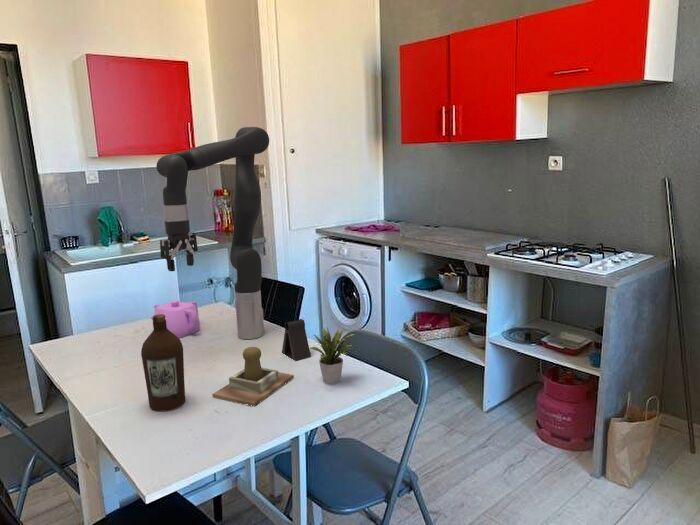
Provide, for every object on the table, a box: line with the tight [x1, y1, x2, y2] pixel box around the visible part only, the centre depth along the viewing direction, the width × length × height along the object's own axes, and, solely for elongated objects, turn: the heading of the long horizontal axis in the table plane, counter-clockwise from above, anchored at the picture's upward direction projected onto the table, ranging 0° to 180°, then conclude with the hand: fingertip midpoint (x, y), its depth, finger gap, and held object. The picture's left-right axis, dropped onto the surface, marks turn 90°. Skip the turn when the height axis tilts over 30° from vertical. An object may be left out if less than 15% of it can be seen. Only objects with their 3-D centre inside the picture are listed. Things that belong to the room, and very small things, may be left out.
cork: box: [242, 346, 263, 382], centre depth 154 cm, size 6×6×11 cm
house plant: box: [309, 326, 356, 385], centre depth 156 cm, size 14×14×16 cm
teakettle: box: [150, 299, 201, 339], centre depth 204 cm, size 17×17×12 cm
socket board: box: [212, 367, 295, 407], centre depth 155 cm, size 20×14×4 cm
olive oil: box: [140, 314, 186, 412], centre depth 144 cm, size 11×11×25 cm
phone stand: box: [281, 318, 312, 362], centre depth 178 cm, size 9×6×12 cm, turn 36°
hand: (181, 268), depth 175 cm, fingers open, 8 cm apart
